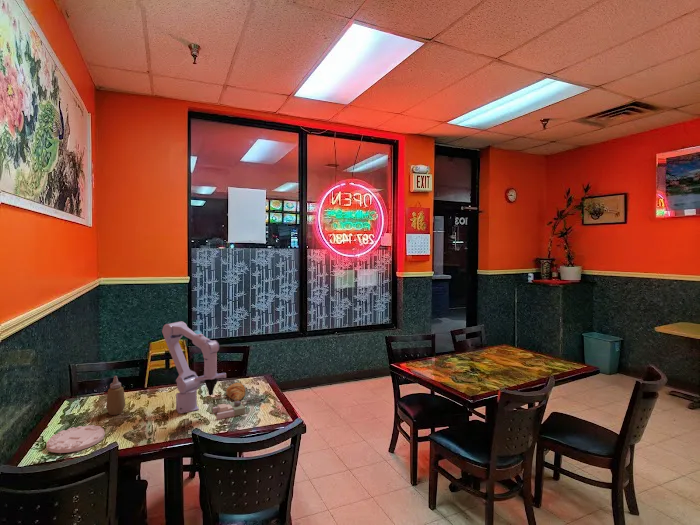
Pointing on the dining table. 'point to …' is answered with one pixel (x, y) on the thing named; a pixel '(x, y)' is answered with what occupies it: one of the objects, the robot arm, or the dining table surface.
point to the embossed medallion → (75, 439)
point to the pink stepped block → (224, 408)
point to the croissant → (235, 391)
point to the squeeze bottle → (115, 398)
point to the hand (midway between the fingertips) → (210, 394)
